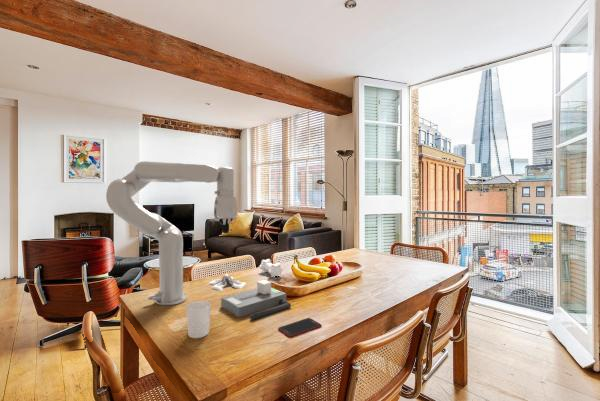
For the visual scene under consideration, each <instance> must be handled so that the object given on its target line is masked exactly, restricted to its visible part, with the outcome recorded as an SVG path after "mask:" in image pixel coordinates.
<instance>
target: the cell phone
mask: <svg viewBox="0 0 600 401" xmlns="http://www.w3.org/2000/svg"><path fill="white" fill-rule="evenodd" d="M321 327H322V324H321V323H320V322H318V321H315V320H314V319H312V318H310V317H306V318H304V319H301V320H298V321H293V322H290V323H288V324H285V325H282V326H279V327H278V328H277V330H278V331H279V332H280V333H281V334H283V335H284V336H286V337H287V338H289V337H290V338H289V339H292V338H294V336H295V337H297V335H298V336H300V335H303V334H305V333H309V332H311V331H314V330H317V329H320V328H321ZM308 331H309V332H308ZM302 333H303V334H302ZM299 334H300V335H299ZM291 337H292V338H291Z"/></svg>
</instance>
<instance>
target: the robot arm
mask: <svg viewBox="0 0 600 401" xmlns="http://www.w3.org/2000/svg"><path fill="white" fill-rule="evenodd" d="M234 172H235V170H234V168H232V167H229V166H226V167H225V166H221V167H215V166H214V165H209V164H195V163H194V164H193V163H182V162H181V163H179V162H164V161H163V162H162V161H160V162H158V161H148V160H147V161H145V160H143V161H139V162H137V163H136V164H135V165H134V167H133V170H131V172H129V173H128V174H126V175H125V176H124V177H122V178H116V179H114V180H113V181H112V182H110V183H109V185H108V186H107V189H106V197H105V198H106V203H107V206H108V207H109V208H110V210H111V211H112V212H113V213H114V214H115V215H116V216H117V217H119V218H121V219H122V220H123V221H125V223H127V224H129V225H130V226H132V227H133V228H134V229H136V230H137V231H139V232H140V233H141V234H142V235H145V236H147V237H152V238H154V239H155V240H157V241H158V254H159V255H158V256H159V257H158V258H159V259H158V260H159V261H158V262H159V263H158V265H159V267H158V268H159V290H157V293H154V294H150V295H147V297H146V298H147V301H155V303H156V304H157V305H158V306H159V305H160V306H174V305H179V304H181V303H183V302H185V301H186V300H187V297H188V296H187V294H186V293H184V262H183V261H184V258H183V256H184V252H183V251H184V238H183V233H182V231H181V230H180V229H179V228H178V227H176V226H175V225H174V224H173V223H171V222H170V221H168V220H166V218H164V217H162V216H161V215H160V214H158V213H155V212H150V211H149V210H147V209H145V208H144V207H143V206H142V205H140V204H139V203H137V202H136V201H135V200H133V198H132V197H134V196H135V195H136V194H137V193H139V192H140V191H141V190H143V189H144V188H145V187H146V186H148V185H149V184H150V183H151V182H153V183H157V182H158V183H186V182H188V183H189V182H190V183H191V182H192V183H193V182H196V183H208V184H209V183H216V186H217V187H216V190H215V191H214V195H216V197H215V199H214V205H213V207H214V208H213V217H214V219H213V220H214V221H216V222H219V224H220V225H221V232H222V233H223V234H230V233H229V232H230V225H231V223H232V221H235V220H236V219H237V216H238V204H237V203H238V202H237V199H236V196H234V195H235V192H234V189H235V188H234V186H235V185H234V184H235V183H234V182H235V179H234V178H235V176H234V175H235V173H234Z"/></svg>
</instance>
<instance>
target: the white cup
mask: <svg viewBox="0 0 600 401" xmlns="http://www.w3.org/2000/svg"><path fill="white" fill-rule="evenodd" d="M185 306H186V307H185V308H186V325H187V335H188V337H189V338H191V339H201V338H203V337H206V336H207V335H209V333H210V325H211V324H210V323H211V321H210V320H211V307H212V306H211V302H210V301H207V300H197V301H196V300H195V301H192V302H189V303H188V304H186V305H185Z"/></svg>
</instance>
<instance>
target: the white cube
mask: <svg viewBox="0 0 600 401" xmlns="http://www.w3.org/2000/svg"><path fill="white" fill-rule="evenodd" d="M271 287H272V282H271V281H268V280H266V279H262V280H259V281H256V289H257V292H259V293H261V294H268V293H271Z"/></svg>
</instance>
